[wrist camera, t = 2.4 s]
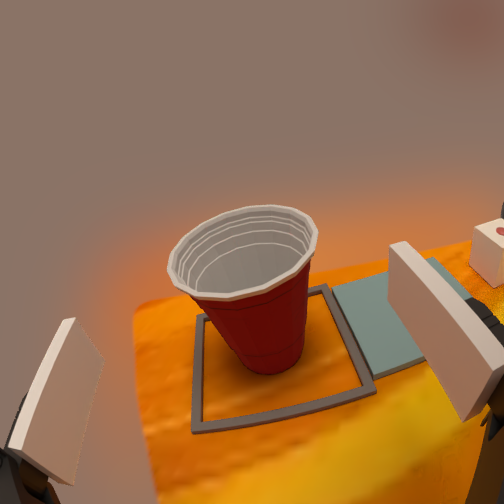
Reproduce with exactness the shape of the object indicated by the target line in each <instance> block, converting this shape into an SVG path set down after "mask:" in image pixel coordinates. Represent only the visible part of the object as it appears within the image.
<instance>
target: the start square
mask: <svg viewBox="0 0 504 504" xmlns="http://www.w3.org/2000/svg"><path fill="white" fill-rule="evenodd" d="M320 293H322V294H323V296H324V299H325V301H326V303H327V305H328V307H329V310H330V312H331V314H332V316H333V319H334V321H335V323H336V325H337V328H338V330H339V332H340V334H341V337H342V339H343V341H344V344H345V346H346V348H347V351H348V353H349V355H350V358H351V360H352V362H353V365H354V367H355V369H356V372H357V374H358V377H359V379H360V381H361V384H362V386H361V387H358V388H355V389H352V390H349V391H345V392H342V393H339V394H335V395H332V396H328V397H325V398H321V399H317V400H314V401H310V402H306V403H302V404H298V405H294V406H290V407H285V408H281V409H276V410H272V411H267V412H262V413H257V414H251V415H246V416H240V417H234V418H228V419H221V420H214V421H207V422H203V364H204V331H205V321H209V320H210V319H209V317H208V316H207V314H206V313H203V314H198V315H197V319H196V333H195V349H194V366H193V386H192V412H191V432H192V433H193V434H201V433H210V432H217V431H225V430H231V429H238V428H244V427H250V426H255V425H261V424H266V423H271V422H276V421H280V420H285V419H289V418H294V417H298V416H302V415H306V414H310V413H314V412H318V411H321V410H325V409H329V408H332V407H336V406H339V405H342V404H346V403H349V402H352V401H355V400H358V399H361V398H364V397H367V396H370V395H373V394H376V392H377V389H376V387H375V385H374V383H373V380H372V378H371V376H370V374H369V371H368V369H367V367H366V365H365V363H364V360H363V358H362V356H361V354H360V352H359V350H358V347H357V345H356V343H355V341H354V339H353V337H352V335H351V332H350V330H349V328H348V326H347V324H346V322H345V320H344V318H343V316H342V314H341V312H340V310H339V308H338V306H337V303H336V301H335V299H334V297H333V295H332V293H331V291H330V289H329V287H328V285H327V283H326V284H322V285H318V286H314V287H311V288H308V297H309V296H313V295H316V294H320Z"/></svg>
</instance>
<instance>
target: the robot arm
mask: <svg viewBox="0 0 504 504" xmlns="http://www.w3.org/2000/svg"><path fill="white" fill-rule="evenodd" d="M501 218H502V219H503V220H504V203H503V205H502V211H501ZM387 300H388V302H389V303H390V305H391V306H392V308H393V309H394V311H395V312H396V314H397V315H398V317H399V318H400V320H401V321H402V323H403V324H404V326H405V327H406V329H407V330H408V332H409V333H410V335H411V336H412V338H413V340H414V341H415V343H416V344H417V346H418V347H419V349H420V351H421V352H422V354H423V355H424V357H425V359H426V360H427V362H428V363H429V365H430V367H431V368H432V370H433V372H434V373H435V375H436V377H437V378H438V380H439V382H440V383H441V385H442V387H443V389H444V390H445V392H446V394H447V395H448V397H449V399H450V401H451V402H452V404H453V406H454V408H455V410H456V411H457V413H458V415H459V417H460V419H461V421H462V422H465V421H467V420H468V419H470V418H472V417H474V416H475V415H477V414H479V413H480V412H481V411H482V410H483V408H484V407H485V405H486V403H488V405H489V407H490V408H491V409H490V411H489V412H488V414H487V415H486V416H485V418H484V419H483V421H482V423H481V425H480V426H484V424H485V423H486V422H487V425H486V430H485V435H484V439H483V444H482V448H481V452H480V456H479V460H478V464H477V467H476V471H475V474H474V478H473V481H472V484H471V487H470V490H469V493H468V496H467V499H466V502H465V504H504V325H503V324H502V323H501V324H500V321H499V320H498V319H497V317H496V316H493V313H492V312H491V311H490V310H489V309H488V307H487V306H486V305H485V304H484V303H482V302H480V301H478V300H476V299H475V298H473V297H471V298H469V299H466V300H463V299H462V298H461V297H460V296H459V295H458V293H457V292H456V291H455V290H454V289H453V288H452V287H451V286H450V285H449V284H448V283H447V282H446V281H445V280H444V279H443V278H442V277H441V275H440V274H439V273H438V272H437V271H436V270H435V269H434V268H433V267H432V266H431V265H430V264H429V263H428V262H427V261H426V260H425V259H424V258H423V257H422V256H421V255H420V254H419V253H418V252H417V251H416V250H415V249H413V248H412V247H411V246H410V245H409V244H408V243H407V242H406V241H403V242H399V243H395V244H392V245H389V272H388V295H387ZM104 363H105V360H104V358H103V357H102V356H101V354H100V353H99V351H98V350H97V349H96V347H95V346H94V344H93V343H92V341H91V340H90V338H89V337H88V335H87V334H86V332H85V331H84V329H83V328H82V326H81V324H80V323H79V321H78V320H77V318H76V317H75V318H70V319H64V320H63V321H62V323H61V325H60V327H59V329H58V331H57V333H56V335H55V337H54V339H53V341H52V343H51V345H50V347H49V349H48V351H47V353H46V355H45V357H44V359H43V361H42V363H41V365H40V367H39V369H38V372H37V374H36V376H35V378H34V381H33V383H32V385H31V387H30V390H29V391H28V392H27V394H26V395H25V396H24V398H23V399H22V402H21V404H20V407H19V411H18V412H17V414H16V419H14V422H13V425H12V427H11V430H10V433H9V436H8V438H7V442H6V444H5V447H4V449H1V448H0V504H61V503H60V501H59V499H58V497H57V495H56V493H55V490H54V488H53V486H52V485H51V484H50V483H49V482H47V481H48V477H50V478H52V479H53V480H55V481H56V482H58V483H61V484H65V485H70V486H73V485H74V480H75V475H76V470H77V465H78V460H79V456H80V451H81V446H82V442H83V438H84V434H85V430H86V426H87V422H88V418H89V414H90V411H91V407H92V404H93V400H94V396H95V393H96V389H97V386H98V383H99V380H100V376H101V373H102V370H103V367H104Z"/></svg>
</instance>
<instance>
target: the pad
mask: <svg viewBox="0 0 504 504" xmlns="http://www.w3.org/2000/svg"><path fill="white" fill-rule="evenodd" d="M425 260H426V261H427V262H428V263H429V264H430V265H431V266H432V267H433V268H434V269H435V270H436V271H437V272H438V273H439V274H440V275H441V277H442V278H443V279H444V280H445V281H446V282H447V283H448V284H449V285H450V286H451V287H452V288H453V289H454V290H455V291H456V292H457V293H458V295H459V296H460V297H461V298H462V299H463V300H466V299H469V298H471V297H472V296H471V295H470V294H469V293H468V291H467V290H466V289H465V288H464V287H463V286H462V285H461V284H460V283H459V282H458V281H457V280H456V279H455V278H454V277H453V276H452V275H451V274H450V273H449V272H448V271H447V270H446V269H445V268H444V267H443V266H442V265H441V264H440V263H439V262H438V261H437V260H436V259H435V258H434V257H432V258H428V259H425ZM388 272H389V271H387V272H384V273H380V274H377V275H374V276H370V277H367V278H363V279H360V280H356V281H353V282H349V283H346V284H342V285H339V286H335V287H331V288H332V294H333V296H334V298H335V300H336V302H337V304H338V306H339V308H340V310H341V312H342V315H343V317H344V319H345V321H346V323H347V325H348V327H349V329H350V331H351V333H352V335H353V337H354V340H355V342H356V344H357V346H358V348H359V350H360V352H361V355H362V357H363V359H364V361H365V363H366V365H367V368H368V370H369V372H370V374H371V376H372V379H373V380H376V379H378V378H381V377H384V376H387V375H390V374H392V373H395V372H398V371H400V370H403V369H405V368H408V367H410V366H413V365H415V364H418V363H420V362H423V361H425V360H426V359H425V357H424V355H423V354H422V352H421V351H420V349H419V347H418V346H417V344H416V343H415V341H414V340H413V338H412V336H411V335H410V333H409V332H408V330H407V329H406V327H405V326H404V324H403V323H402V321H401V320H400V318H399V317H398V315H397V314H396V312H395V311H394V309H393V308H392V306H391V305H390V303H389V302H388V300H387V295H388Z"/></svg>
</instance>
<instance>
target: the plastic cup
mask: <svg viewBox="0 0 504 504" xmlns="http://www.w3.org/2000/svg"><path fill="white" fill-rule="evenodd" d="M317 237H318V229H317V228H316V226H315V224H314V222H313V221H312V219H311V217H310V216H308V215H306V214H304V213H303V212H301V211H299V210H297V209H295V208H291V207H285V206H279V205H259V206H247V207H244V208H240V209H236V210H232V211H229V212H225V213H222V214H220V215H218V216H216V217H214V218H212V219H210V220H207V221H205V222H203V223H201V224H200V225H199V226H197V227H196V228H194V229H193V230H192V231H190V232H189V233H188V234H186V235H185V236H184V237H183V238H182V239H181V240H180V242H179V243H178V244H177V245H176V247H175V248H174V249H173V250H172V252H171V253H170V257H169V262H168V267H167V272H168V274H169V276H170V278H171V280H172V282H173V284H174V286H175V287H176V288H177V289H179V290H181V291H182V292H184V293H186V294H188V295H190V297H191V298H192V299H193V300H194V301H196V303H197V304H198V305H199V307H200V308H201V309H203V310H204V312H205V313H206V314H207V316H208V317H209V319H210V320H211V322H212V323H213V324H214V326H215V327H216V329H217V330H218V331H219V333H220V334H221V336H222V337H223V338H224V340H225V341H226V342H227V344H228V345H229V347H230V348H231V349H232V350H234V352H235V353H236V354H237V356H238V357H239V359H240V360H241V362H242V363H243V364H244V366H246V367H247V368H248V369H250V370H252V371H253V372H255V373H258V374H267V375H271V374H275V373H280V372H283V371H285V370H286V369H288V368H290V367H291V366H293V365H294V364H295V363H296V361H297V360H298V359H299V358H300V356H301V353H302V349H303V345H304V334H305V324H306V318H307V300H308V279H309V270H310V261H311V258H312V257H313V256H314V252H315V247H316V242H317Z"/></svg>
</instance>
